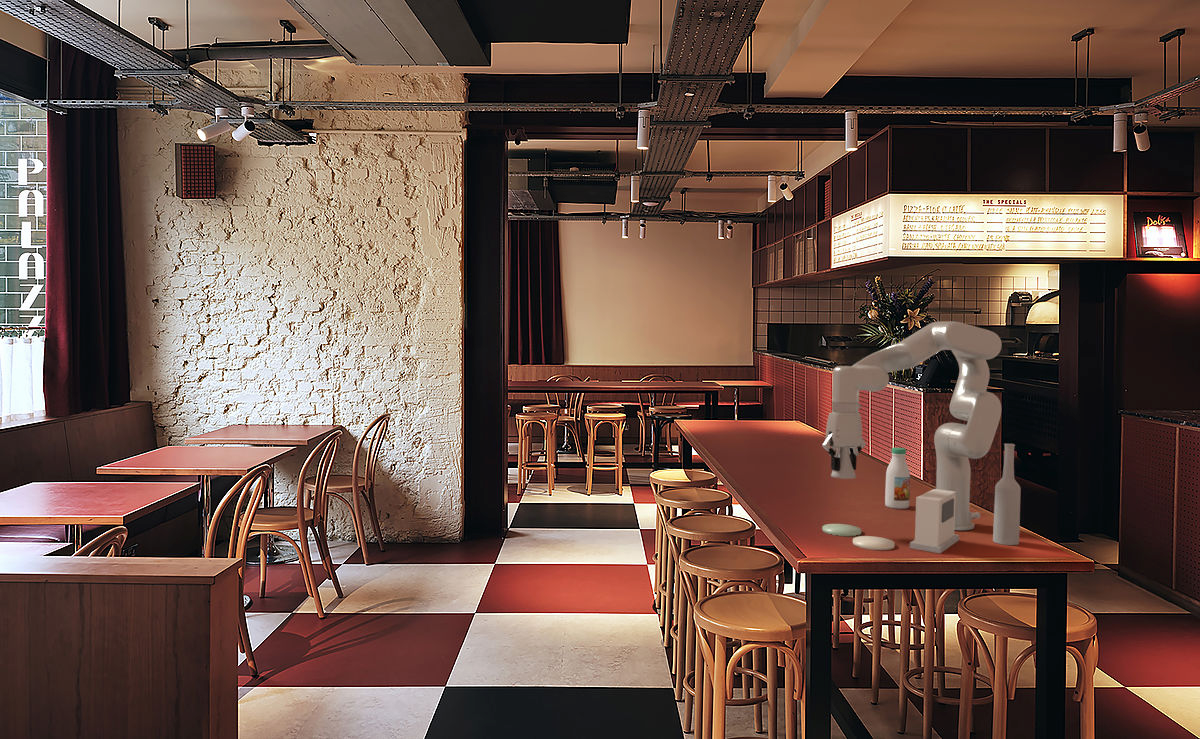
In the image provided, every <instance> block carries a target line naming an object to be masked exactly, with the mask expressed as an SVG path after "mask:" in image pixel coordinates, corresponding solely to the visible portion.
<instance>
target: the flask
mask: <svg viewBox="0 0 1200 739" xmlns="http://www.w3.org/2000/svg"><path fill="white" fill-rule="evenodd" d="M849 455H850V454H849V447H841V449H840V452H839V456H838V457H840V470H839V471H835V470H831V471H832V472H831V474H830V477H831V478H833V479H834V478H835V479H842V480H849V479H850V480H851V479H853V480H855V479H856V478H857V474H856V473H855V470H854V469H853V466H852V463H851V460H850V456H849Z"/></svg>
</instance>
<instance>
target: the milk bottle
mask: <svg viewBox="0 0 1200 739" xmlns="http://www.w3.org/2000/svg"><path fill="white" fill-rule="evenodd" d="M906 454H907V449H906V448H903V447H891V459H890V461H889V464H888V466H887V469H886V472H885V489H884V490H885V492H884V495H885V496H884V505H885V507H887V508H890V509H900V510H903V509H905V510H906V509H908V508H910V495H911V493H910V492H911V473H910V472H911V471H910V468H909V466H908V462H907V460H906Z"/></svg>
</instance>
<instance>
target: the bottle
mask: <svg viewBox="0 0 1200 739" xmlns="http://www.w3.org/2000/svg"><path fill="white" fill-rule="evenodd" d="M1003 445H1004V453H1003V454H1004V457H1003V468H1002V469H1003V470H1002V477H1001V479H999V480H998V481H997V482H996V484H995V486H994V509H993V510H994V511H993V525H992V526H993V527H992V528H993V529H992V532H993V533H992V542H994V543H996V544H998V545H1002V546H1018V545H1020V530H1021V529H1020V526H1021V524H1020V523H1021V522H1020V520H1021V492H1022V491H1021V489H1022V488H1021V486H1020V484H1019V483H1018V482H1017V481H1016V479H1015V464H1014V463H1015V447H1016V444H1014V443H1003Z"/></svg>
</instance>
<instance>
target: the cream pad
mask: <svg viewBox="0 0 1200 739" xmlns="http://www.w3.org/2000/svg"><path fill="white" fill-rule="evenodd" d="M852 544H853V545H854V546H855V547H857V546H858V548H862V549H864V550H871V551H872V550H873V551H887V550H888V551H889V550H890V551H891V550H892V549H894V548H895V542H894V541H893V540H892V539H889V538H885V537H880V536H871V535H870V536H869V535H861V536H860V535H858V536H854V537H853V538H852Z"/></svg>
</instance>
